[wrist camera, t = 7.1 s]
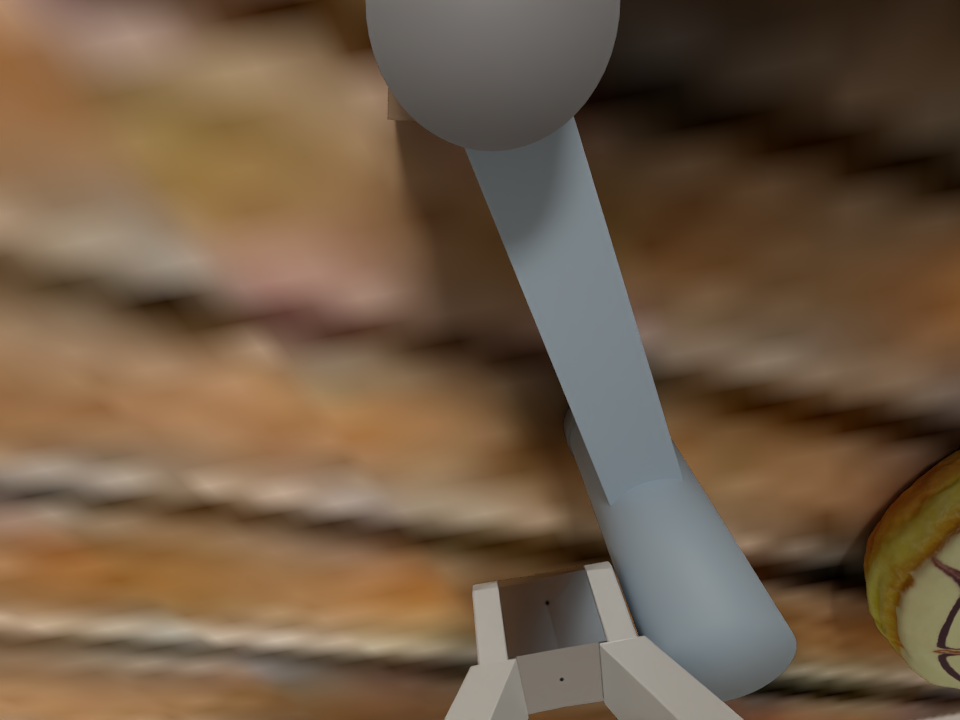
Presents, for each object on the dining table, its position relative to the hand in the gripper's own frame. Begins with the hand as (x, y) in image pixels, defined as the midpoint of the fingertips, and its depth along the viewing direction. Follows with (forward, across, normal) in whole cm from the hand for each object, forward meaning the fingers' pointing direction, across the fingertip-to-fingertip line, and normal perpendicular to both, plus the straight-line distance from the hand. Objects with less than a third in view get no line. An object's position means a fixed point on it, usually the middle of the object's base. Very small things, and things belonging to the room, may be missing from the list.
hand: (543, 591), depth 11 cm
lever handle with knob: (+5, -2, -5) cm, 7 cm away
